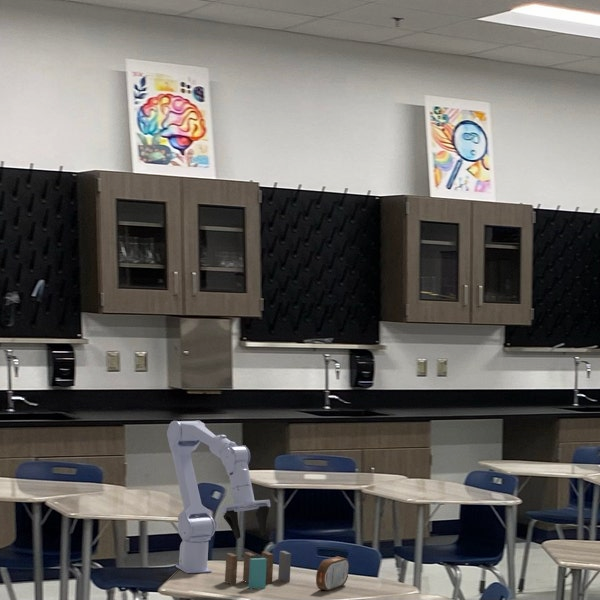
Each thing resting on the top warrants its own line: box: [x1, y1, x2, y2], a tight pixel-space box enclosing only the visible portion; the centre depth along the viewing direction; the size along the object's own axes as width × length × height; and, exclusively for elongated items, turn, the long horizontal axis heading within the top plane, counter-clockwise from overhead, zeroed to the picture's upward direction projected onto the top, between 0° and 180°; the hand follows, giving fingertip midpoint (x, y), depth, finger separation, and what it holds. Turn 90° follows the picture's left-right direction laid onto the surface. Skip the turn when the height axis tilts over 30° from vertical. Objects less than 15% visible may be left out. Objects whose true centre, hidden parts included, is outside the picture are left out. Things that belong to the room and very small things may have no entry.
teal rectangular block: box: [247, 557, 267, 589], centre depth 322 cm, size 2×4×8 cm, turn 116°
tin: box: [315, 555, 350, 592], centre depth 326 cm, size 15×3×8 cm, turn 149°
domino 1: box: [224, 552, 239, 585], centre depth 326 cm, size 2×4×8 cm, turn 25°
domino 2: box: [242, 551, 257, 584], centre depth 328 cm, size 2×4×8 cm, turn 25°
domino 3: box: [261, 551, 274, 584], centre depth 331 cm, size 2×4×8 cm, turn 25°
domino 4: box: [277, 550, 292, 583], centre depth 333 cm, size 2×4×8 cm, turn 25°
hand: (250, 536), depth 321 cm, fingers open, 7 cm apart
